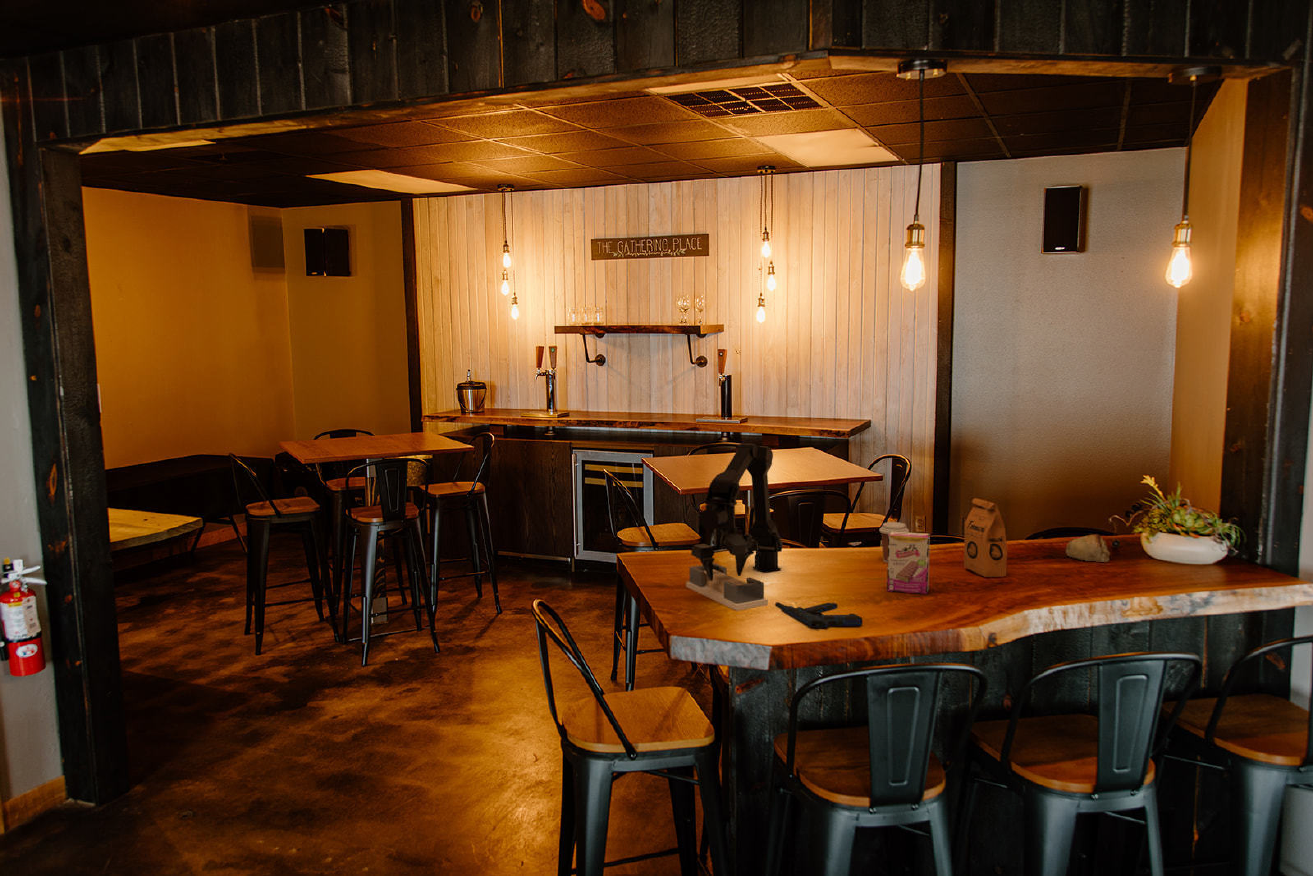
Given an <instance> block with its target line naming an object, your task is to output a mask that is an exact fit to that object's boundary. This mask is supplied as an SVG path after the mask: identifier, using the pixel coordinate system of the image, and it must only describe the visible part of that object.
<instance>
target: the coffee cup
mask: <svg viewBox="0 0 1313 876" xmlns="http://www.w3.org/2000/svg"><path fill="white" fill-rule="evenodd" d="M878 531H879V532H880V533H881V544H882V545H881V546H882V556H883V559H882V560H883V563H886V564H888V535H889V532H891V531H892V532H907V533H910V530H909V529H908V528H907V524H905V523H904V522H903V523H902V522H898V521H897V522H896V521H888V522H884V523H882V526H881V527H880V528H879V530H878Z"/></svg>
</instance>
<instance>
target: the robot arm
mask: <svg viewBox="0 0 1313 876" xmlns="http://www.w3.org/2000/svg"><path fill="white" fill-rule="evenodd" d="M773 459H774V451H773V450H772V449H771V448H770V447H769V446H764V445H763V446H762V445H759V446H758V445H756V444H754V443H740V444H738V446H737V449H736V452H735V454H734V455H733V457H732V459H731V460H730V462H729V464H728V465H727V466H726V468H725V470H723V471H722V472H720V473H717V474H716V475H715V477H714V478H713V479H712V480H711V482H710V484H709V485H708V489H707V493H706V496H705V497H706V498H705V501H704V505H705V509H704V510H703V511H701V512H700V515H699V518H698V521H699V524H700V525H701V527H702V529H705V530H706V531H714V539H713V540H712V541H711V544H712V545H713V546H712V545H708V544H705V543H701V544H693V546H692V548H691V549H690V550H691V551H690V552H691V553H690V554H691V556H693V557H695V558H696V559H698V560H699V561H700V562H701V565H703V566H704V569H705V571H706V573H707V575H708V578H709V580H710V581H713V563H715V562H714V561H715V559H716V558H714V555H715V554H718V553H722V552H729V554H730V555H732V556H735V557H734V558H735V569H736V575H737V576H738V577H741V576H742V573H743V570H744V567H745V564H746V562H747V560H748V558H749V557H751V555H754V553H755V555H754V565H753V566H752V569H754V570H756V571H759V572H762V573H770V572H775V571H781V570H782V567H779V552H780V553H781V552H783V541H782V539H781V537H780V535H779V533H778V528H777V524H776V523H775V522H774V520H773V519H772V517H771V507H770V506H771V503H770V494H769V493H770V492H769V491H770V490H769V480H768V479H769V478H768V472H769V471H770V469H771V467H772V465H773ZM746 471H747V472H748V473H749V474H750V477H751V486H752V498H753V499H752V500H753V512H754V513H753V514H754V521H753V524H752V526H751V527H750V528H749V534H744V535H741V534H739V533H740V532H739V528H738V527H736V505H737V504H738V502H737V499H738V496H739V494H740V491H741V485H740V481H741V479H742V477H743V476H744V474H745V472H746Z"/></svg>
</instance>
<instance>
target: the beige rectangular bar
mask: <svg viewBox="0 0 1313 876" xmlns="http://www.w3.org/2000/svg"><path fill="white" fill-rule="evenodd" d="M726 581H728V582H730V583H733V584H735V585H737V586H738V585H744V584H748V583H747V582H745V581H743V580H741V579H738V578H737V577H733V576H731V575H729V574H727V575H726V574H724V573H721V572H719V571H717V570H714V569H713V581H710V580H709V578H708V575H707V573H706V571H705V586H708V587H710V588H712V589H714V590H716V591H719V592H721V593H723V594H724V582H726Z"/></svg>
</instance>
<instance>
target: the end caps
mask: <svg viewBox="0 0 1313 876" xmlns="http://www.w3.org/2000/svg"><path fill="white" fill-rule="evenodd" d="M713 569H714V570H717V571H719V572H721V573H724V574H726V575H728V572H727V571H728V569H727V567H726V566H723V565H720V564H718V563H716V562H713ZM689 581H690V583H693V584H695V585H697V586H699V587H705V569H704V566H703V565H702V564H701V565H694V566H689ZM746 583H748V584H744V585H738V586H737V585H735V584H733V583H730V582H728V581H726V582H724V598H725V599H727V600H729V601H731V602H734V603H736V604H741V603H746V602H751V601H757V600H762V599H764V598H765V584H764V583H765V582H763V581H760V580H758V579H754V578H753V577H746Z"/></svg>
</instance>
